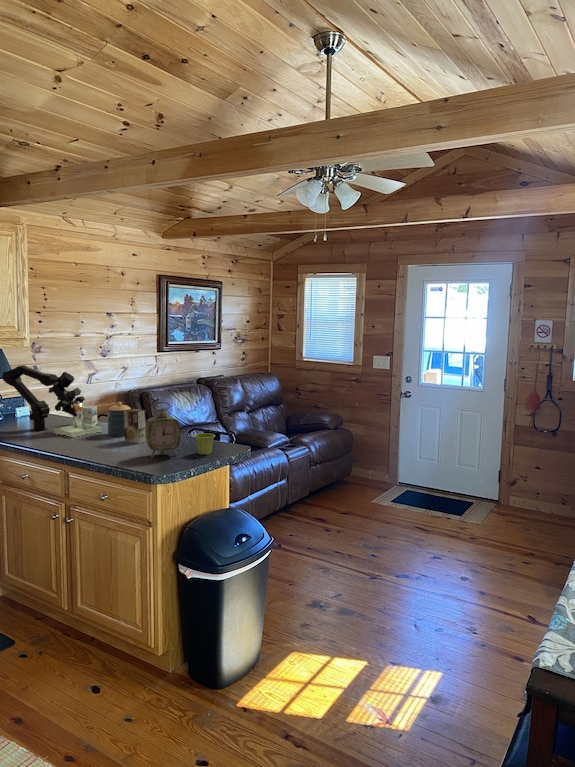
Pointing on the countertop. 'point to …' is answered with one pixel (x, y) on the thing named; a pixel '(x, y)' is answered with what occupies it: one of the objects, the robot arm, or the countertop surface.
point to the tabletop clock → (162, 432)
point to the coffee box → (135, 425)
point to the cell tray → (77, 430)
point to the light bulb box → (90, 415)
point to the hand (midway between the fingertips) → (79, 415)
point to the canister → (116, 420)
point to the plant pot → (204, 443)
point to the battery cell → (78, 415)
